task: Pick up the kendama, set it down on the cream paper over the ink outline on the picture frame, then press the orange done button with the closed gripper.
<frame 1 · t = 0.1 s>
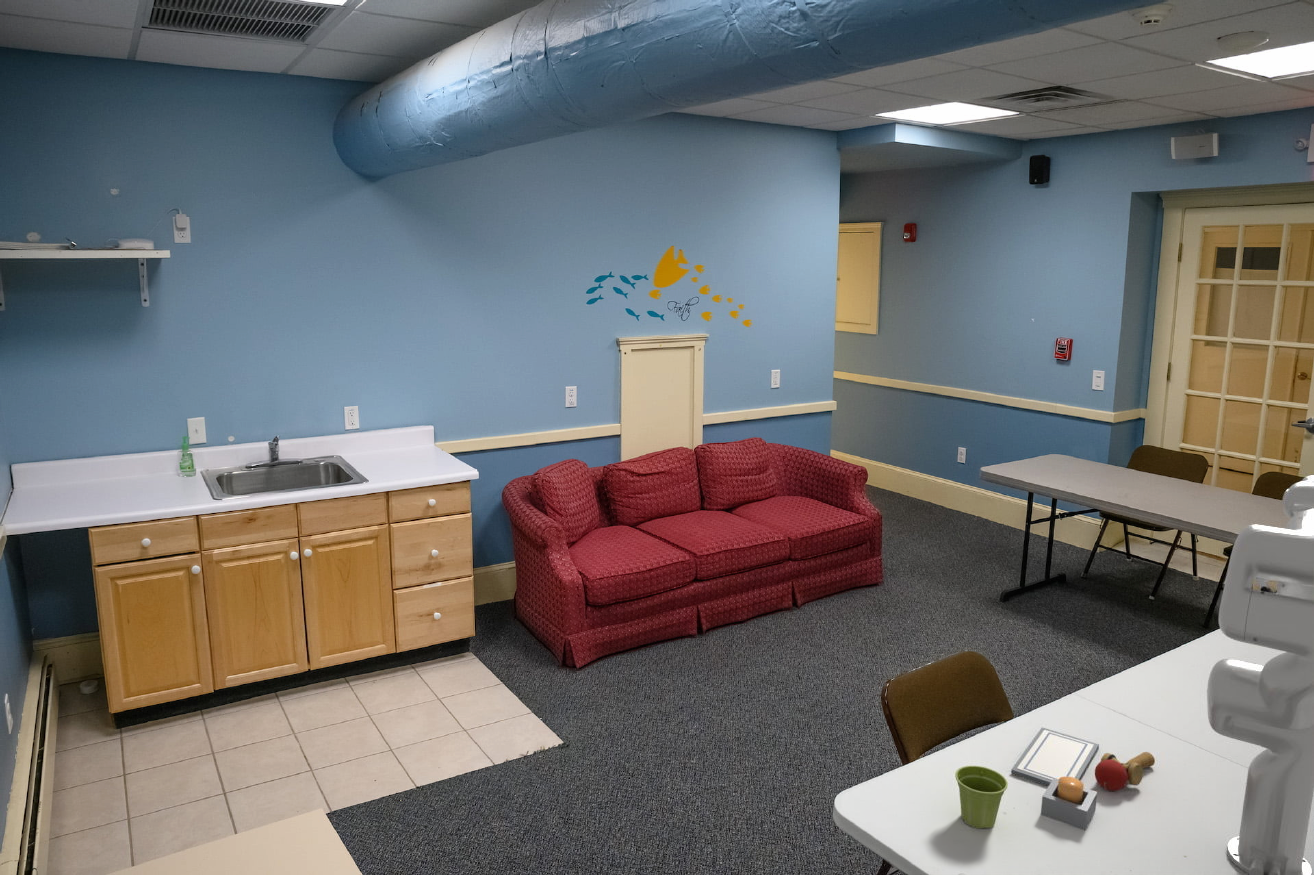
hand: (1304, 627, 171), 37 cm above the table, tool pointing down, fingers open, 9 cm apart
kendama: (1124, 779, 187), on the table
picture frame: (1055, 760, 193), on the table
done button: (1070, 790, 174), point 5 cm above the table, slide at 0.0 cm
button housing: (1068, 812, 175), on the table
plant pot: (978, 820, 173), on the table
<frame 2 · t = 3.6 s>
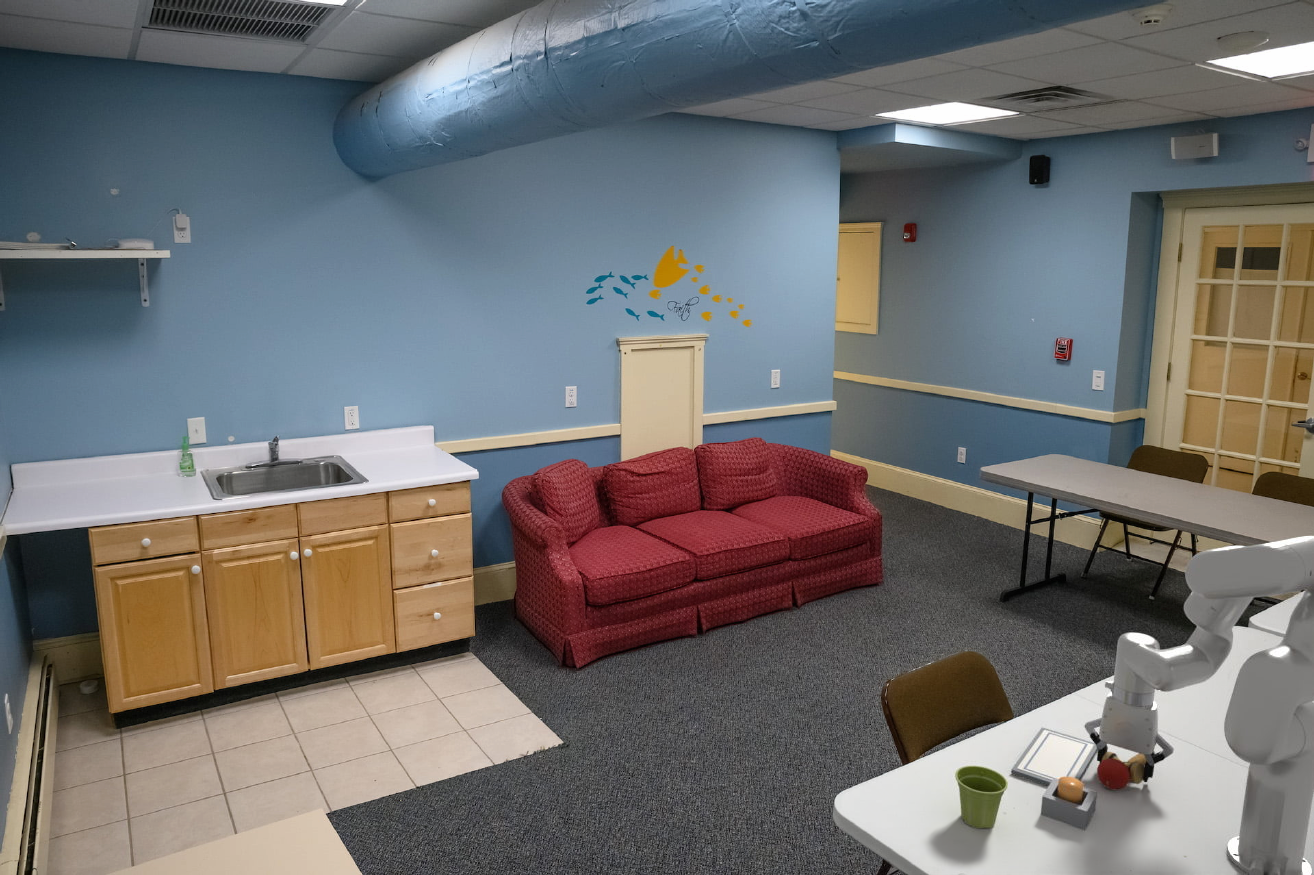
hand: (1124, 771, 187), 1 cm above the table, tool pointing down, fingers closed on kendama, 7 cm apart
kendama: (1125, 778, 187), on the table, touching gripper
everything else where it was.
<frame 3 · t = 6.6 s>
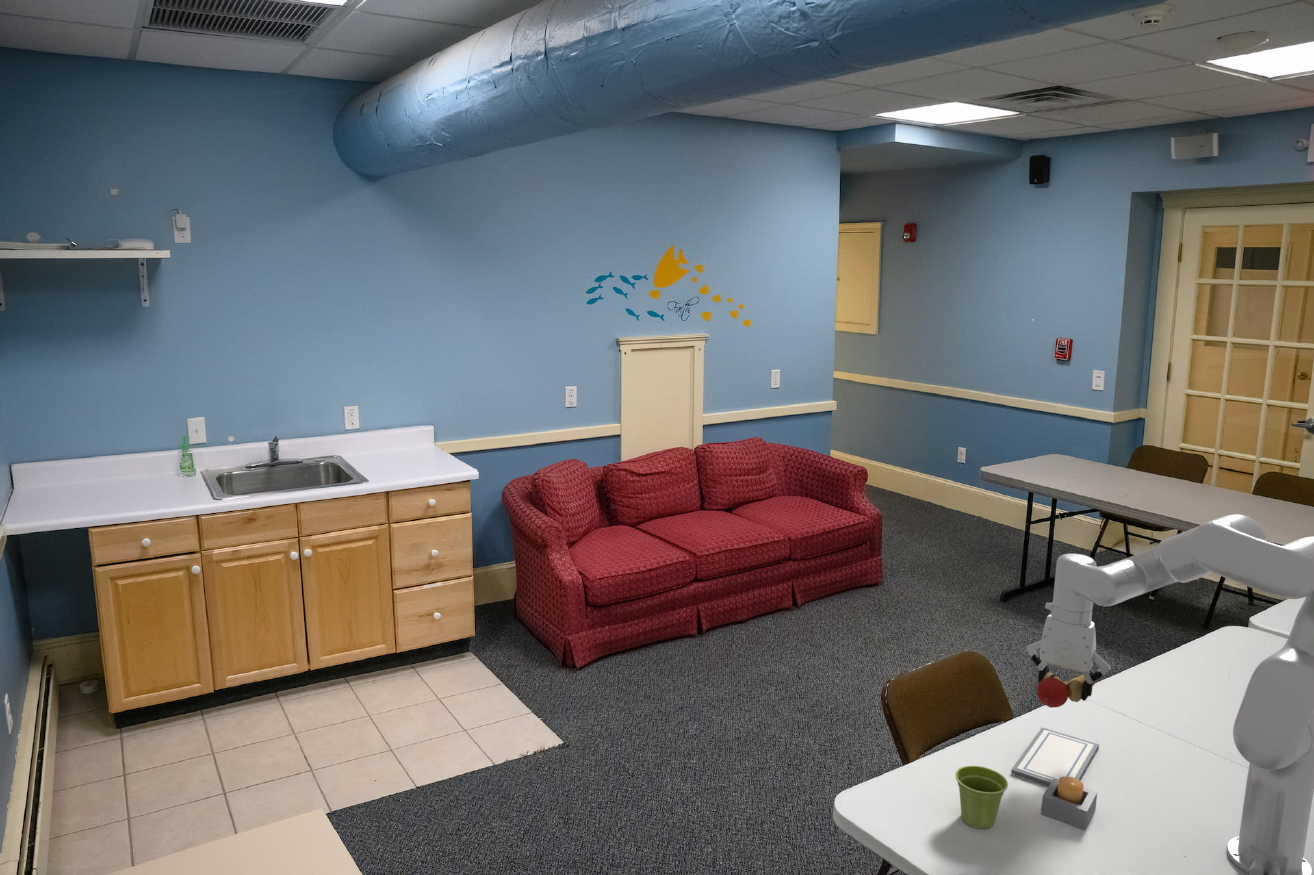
hand: (1064, 691, 190), 16 cm above the table, tool pointing down, fingers closed on kendama, 7 cm apart
kendama: (1066, 698, 190), point 15 cm above the table, touching gripper
everything else where it was.
when the fingers open (3 cm above the table, at t = 9.6 s): kendama moves 1 cm, resting on picture frame.
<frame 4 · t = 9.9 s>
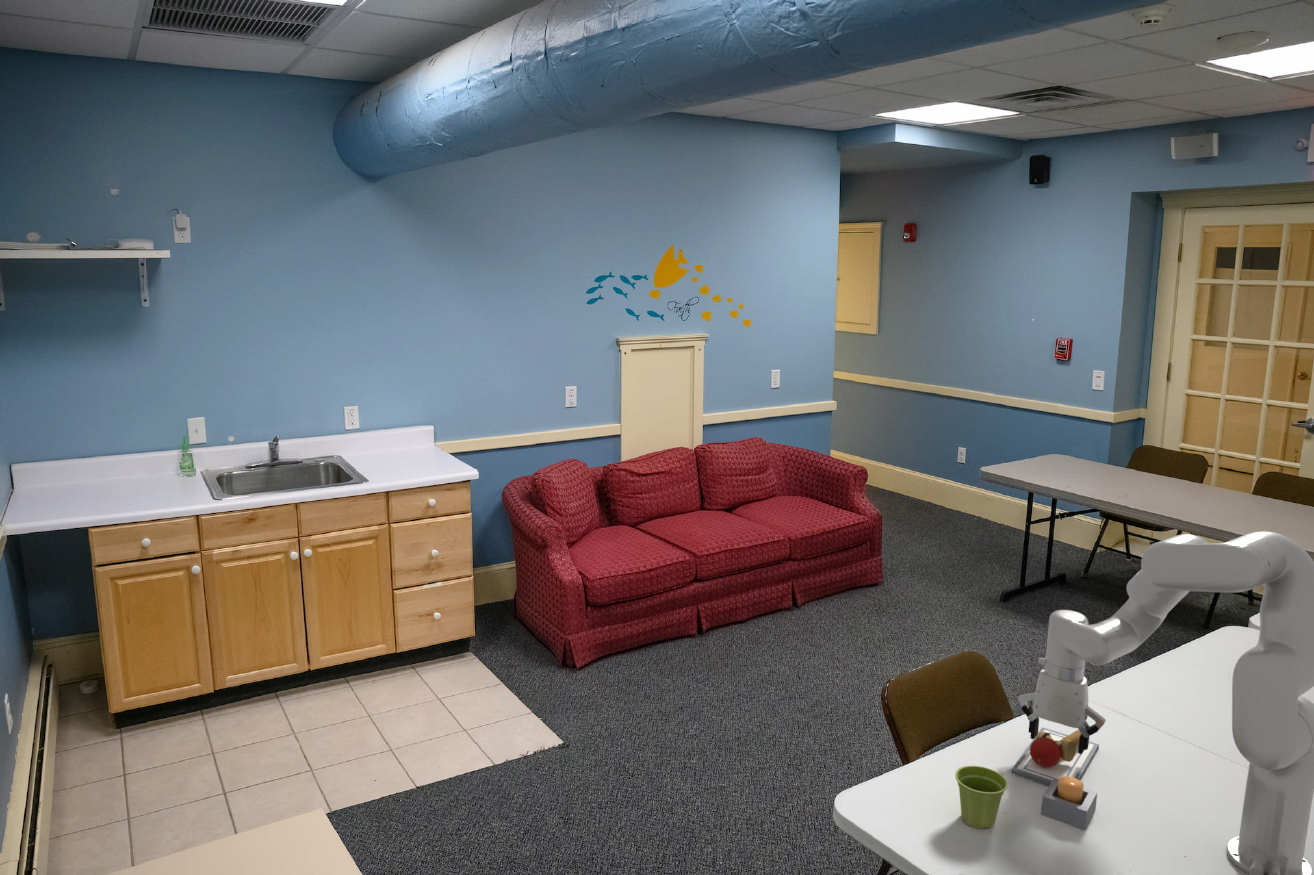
hand: (1057, 743, 192), 4 cm above the table, tool pointing down, fingers open, 9 cm apart
kendama: (1058, 756, 193), point 1 cm above the table, touching picture frame
everything else where it was.
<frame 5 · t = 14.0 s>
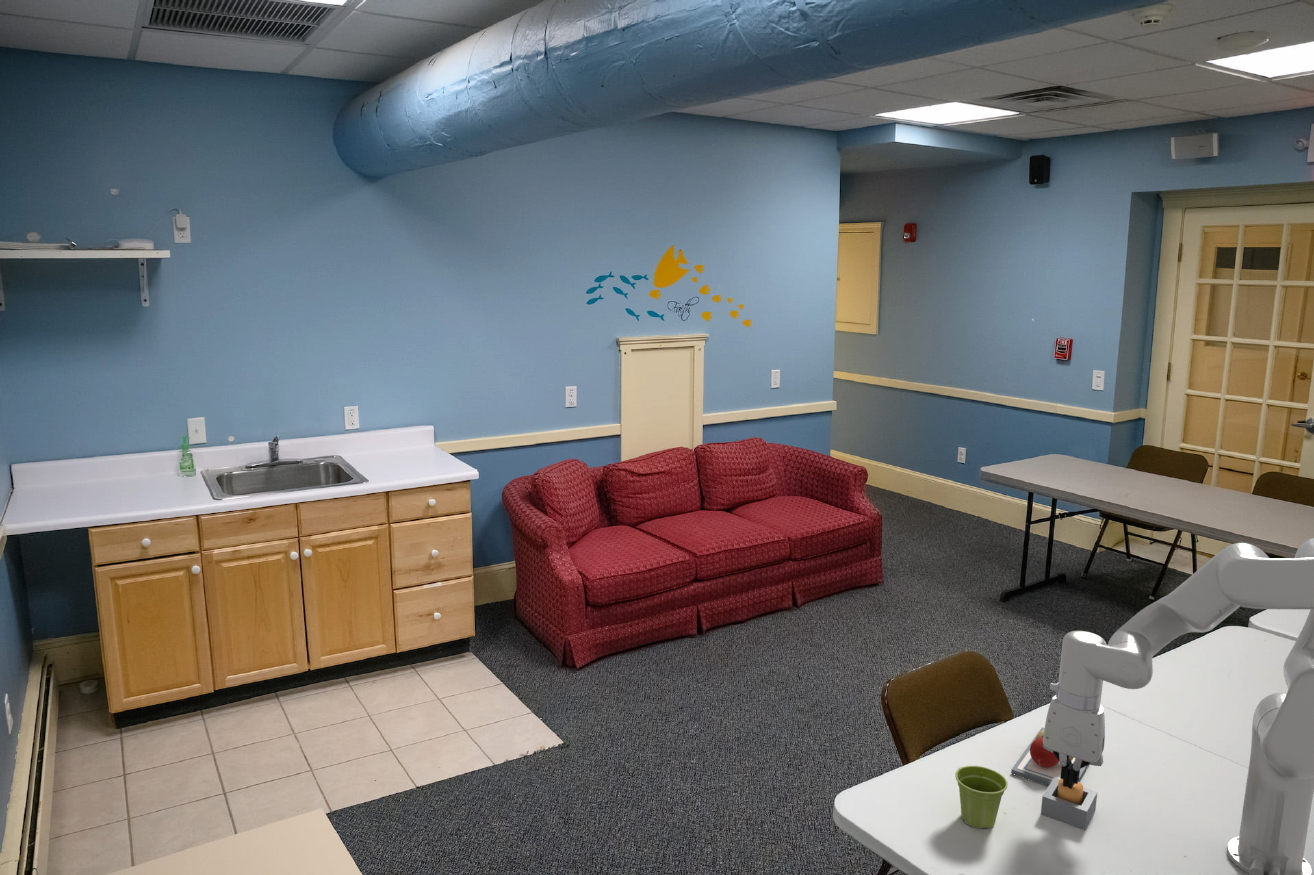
hand: (1068, 784, 174), 6 cm above the table, tool pointing down, fingers closed
done button: (1070, 791, 174), point 5 cm above the table, slide at 0.4 cm, touching gripper
everything else where it was.
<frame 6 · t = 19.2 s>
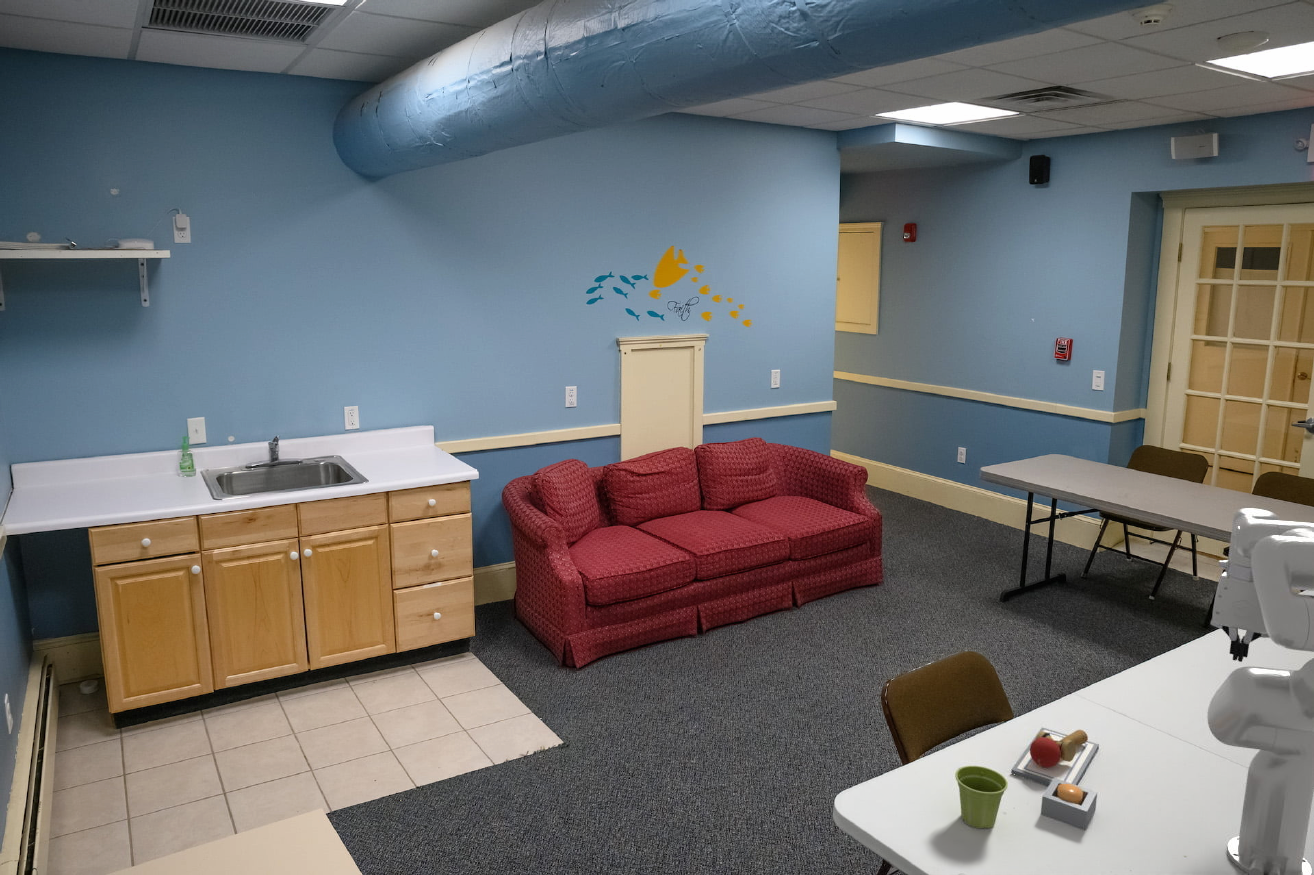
hand: (1237, 658, 180), 27 cm above the table, tool pointing down, fingers closed
done button: (1069, 797, 174), point 3 cm above the table, slide at 1.5 cm
everything else where it was.
at the end: kendama inside the target area on the picture frame (0.6 cm from its centre), point 0.9 cm above the picture frame's base; kendama touching picture frame; done button slide at 1.5 cm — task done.
